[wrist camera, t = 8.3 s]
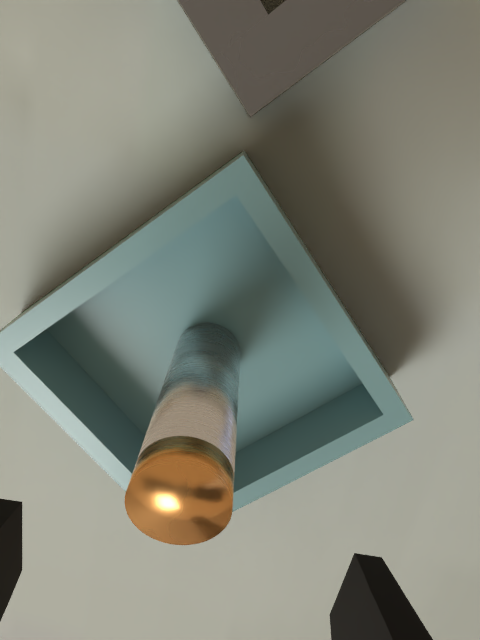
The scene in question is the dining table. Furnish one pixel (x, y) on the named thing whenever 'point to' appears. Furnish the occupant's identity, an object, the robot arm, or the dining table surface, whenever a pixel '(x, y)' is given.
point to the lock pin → (190, 442)
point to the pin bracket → (278, 39)
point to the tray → (207, 307)
